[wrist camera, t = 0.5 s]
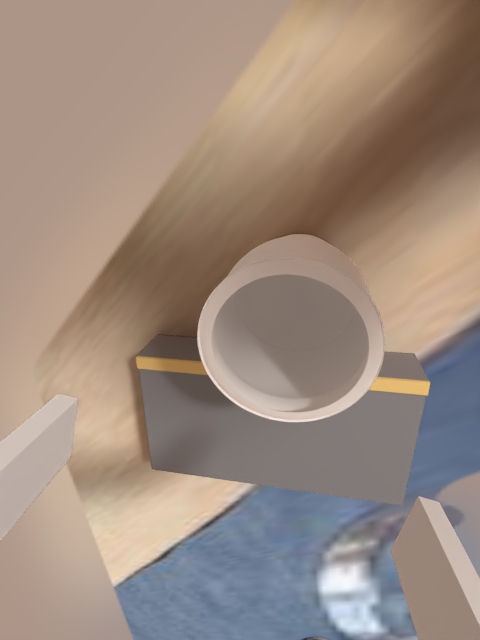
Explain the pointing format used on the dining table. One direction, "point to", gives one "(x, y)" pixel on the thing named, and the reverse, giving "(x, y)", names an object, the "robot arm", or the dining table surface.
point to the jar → (292, 331)
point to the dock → (281, 429)
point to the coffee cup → (316, 638)
